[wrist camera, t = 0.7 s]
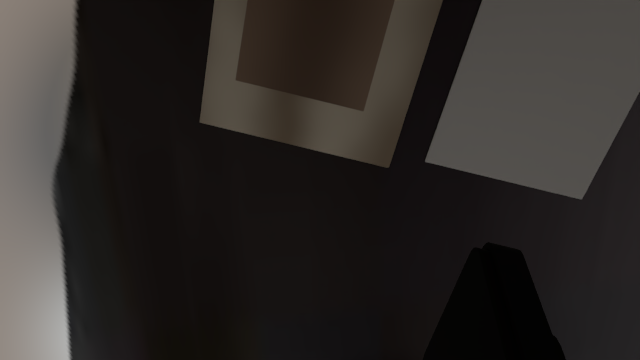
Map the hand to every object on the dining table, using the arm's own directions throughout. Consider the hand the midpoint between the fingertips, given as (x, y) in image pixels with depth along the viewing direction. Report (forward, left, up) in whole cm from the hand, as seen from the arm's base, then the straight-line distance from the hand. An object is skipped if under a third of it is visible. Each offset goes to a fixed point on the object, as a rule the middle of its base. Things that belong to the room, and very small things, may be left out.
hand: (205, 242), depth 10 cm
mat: (-13, +1, -23) cm, 27 cm away
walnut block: (0, 0, -23) cm, 23 cm away
